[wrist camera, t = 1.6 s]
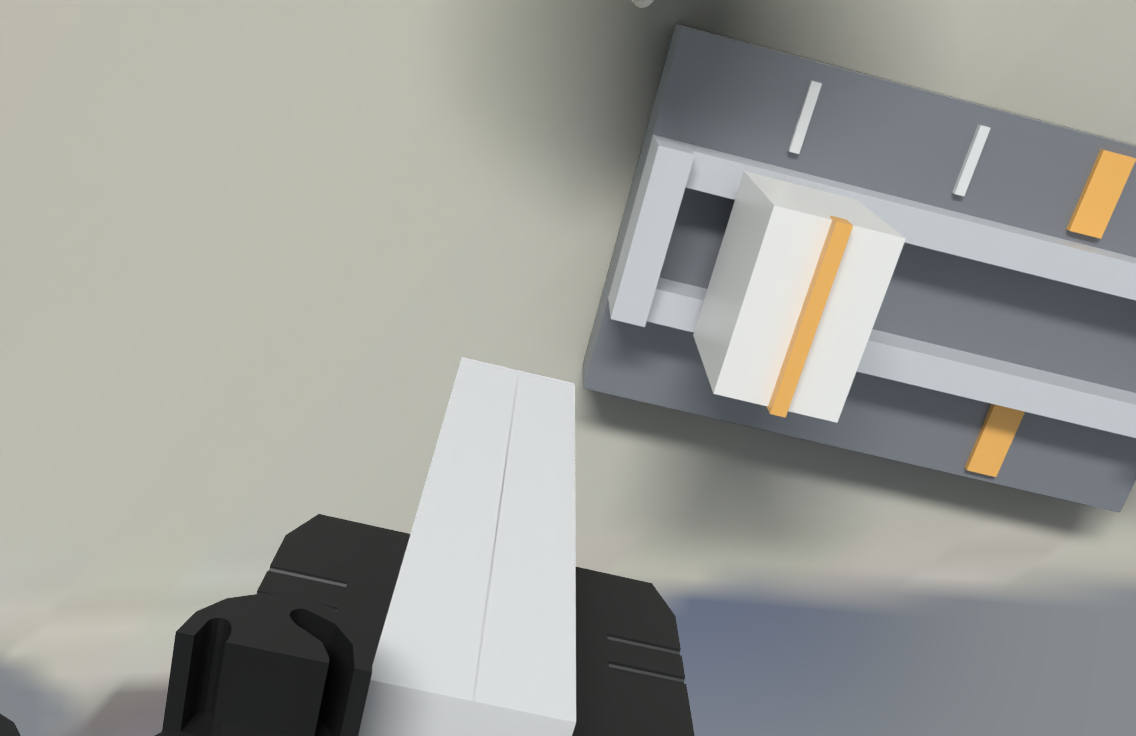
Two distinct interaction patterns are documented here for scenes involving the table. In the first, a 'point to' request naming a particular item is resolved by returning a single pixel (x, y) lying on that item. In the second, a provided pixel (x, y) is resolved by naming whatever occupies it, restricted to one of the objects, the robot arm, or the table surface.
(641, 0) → the mug
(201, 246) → the table surface
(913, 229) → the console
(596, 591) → the robot arm
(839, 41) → the table surface
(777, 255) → the fader tab
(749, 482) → the table surface
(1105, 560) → the table surface
